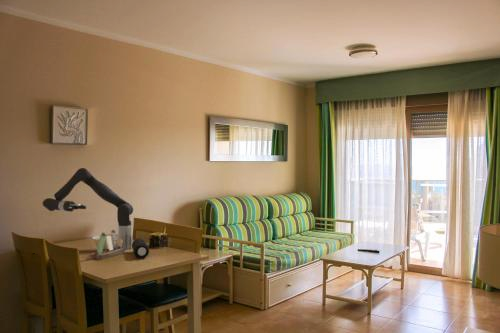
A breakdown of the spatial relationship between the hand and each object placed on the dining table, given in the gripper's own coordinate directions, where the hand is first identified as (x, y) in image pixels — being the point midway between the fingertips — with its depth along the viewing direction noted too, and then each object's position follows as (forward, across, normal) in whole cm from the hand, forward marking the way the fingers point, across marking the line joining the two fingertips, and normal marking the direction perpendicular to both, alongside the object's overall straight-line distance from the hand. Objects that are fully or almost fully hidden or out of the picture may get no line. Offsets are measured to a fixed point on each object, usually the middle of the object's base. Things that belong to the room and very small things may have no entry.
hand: (85, 207), depth 297 cm
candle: (+32, +43, +32) cm, 62 cm away
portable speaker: (+38, +13, +32) cm, 52 cm away
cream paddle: (+20, +3, +29) cm, 35 cm away
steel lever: (+20, +9, +29) cm, 36 cm away
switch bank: (+20, +1, +32) cm, 38 cm away
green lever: (+20, -8, +29) cm, 36 cm away
